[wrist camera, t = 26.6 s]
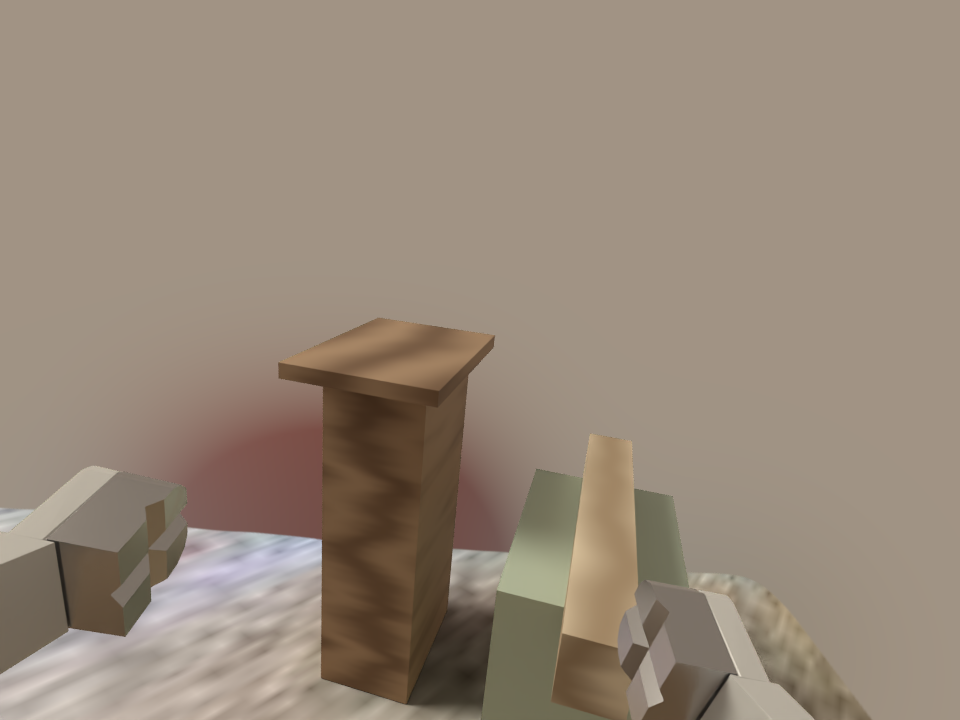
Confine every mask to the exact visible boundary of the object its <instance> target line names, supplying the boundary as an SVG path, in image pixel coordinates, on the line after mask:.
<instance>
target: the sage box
mask: <svg viewBox="0 0 960 720" xmlns="http://www.w3.org/2000/svg"><path fill="white" fill-rule="evenodd" d="M582 480H583V478H579V477H575V476H570V475H565V474H559V473H555V472H550V471H545V470H540V469H536V472H535V475H534V478H533V481H532V484H531V487H530V491H529V493H528V496H527V499H526V503H525V506H524V509H523V512H522V515H521V518H520V521H519V524H518V527H517V530H516V533H515V536H514V539H513V542H512V545H511V548H510V551H509V555H508V558H507V561H506V564H505V567H504V570H503V573H502V576H501V579H500V582H499V585H498V588H497V593H496V601H495V609H494V618H493V626H492V634H491V642H490V651H489V659H488V667H487V675H486V683H485V692H484V700H483V708H482V716H481V720H611V719H607V718H604V717H600V716H597V715H593V714H590V713H587V712H583V711H580V710H576V709H573V708H570V707H566V706H563V705H559V704H556V703H553V702H551V696H552V689H553V682H554V675H555V668H556V661H557V654H558V647H559V640H560V633H561V626H562V619H563V612H564V605H565V598H566V591H567V584H568V578H569V571H570V564H571V557H572V550H573V543H574V536H575V529H576V522H577V515H578V508H579V501H580V494H581V487H582ZM634 502H635V525H636V547H637V570H638V586H639V584H640V583H641V582H642V581H644V580H650V581H655V582H661V583H666V584H671V585H676V586H681V587H686V588H689V584H688V579H687V573H686V568H685V562H684V557H683V551H682V545H681V540H680V534H679V529H678V523H677V518H676V512H675V507H674V501H673V496H669V495H663V494H659V493H654V492H649V491H643V490H639V489H634ZM627 720H632V719H631V714H630V709H629V711H628V715H627Z"/></svg>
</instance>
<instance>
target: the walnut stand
mask: <svg viewBox="0 0 960 720" xmlns="http://www.w3.org/2000/svg"><path fill="white" fill-rule="evenodd" d="M494 338H495V336H494V335H489V334H482V333H475V332H469V331H462V330H456V329H449V328H443V327H436V326H429V325H422V324H416V323H409V322H403V321H396V320H390V319H383V318H377V319H375V320H372V321H370V322H368V323H366V324H363V325H361V326H359V327H357V328H354V329H352V330H350V331H348V332H345V333H343V334H341V335H339V336H336V337H334V338H332V339H330V340H328V341H325V342H323V343H321V344H319V345H316V346H314V347H312V348H310V349H307V350H305V351H303V352H301V353H299V354H296V355H294V356H292V357H289V358H287V359H285V360H283V361H280V362H279V363H278V366H279V378H280V379H285V380H291V381H296V382H301V383H307V384H312V385H318V386H323V479H322V485H323V486H322V490H323V491H322V629H321V678H323V679H326V680H330V681H333V682H336V683H339V684H342V685H346V686H349V687H352V688H355V689H358V690H362V691H365V692H368V693H371V694H374V695H378V696H381V697H384V698H387V699H391V700H394V701H397V702H400V703H403V704H407V702H408V699H409V697H410V695H411V692H412V690H413V688H414V685H415V683H416V681H417V679H418V676H419V674H420V672H421V669H422V667H423V665H424V662H425V660H426V658H427V656H428V653H429V651H430V649H431V646H432V644H433V642H434V639H435V637H436V635H437V633H438V630H439V628H440V626H441V623H442V621H443V619H444V616H445V614H446V612H447V606H448V595H449V584H450V572H451V561H452V550H453V538H454V528H455V517H456V506H457V493H458V484H459V472H460V461H461V449H462V438H463V428H464V417H465V405H466V394H467V383H468V374H469V373H470V372H471V371H472V370H473V369H474V368H475V367H476V366H477V365H478V364H479V363H480V362H481V360H482V359H483V358H484V357H485V356H486V355H487V354H488V353H489V352H490V351H491V350H492V349H493V347H494Z"/></svg>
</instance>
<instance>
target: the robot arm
mask: <svg viewBox="0 0 960 720" xmlns="http://www.w3.org/2000/svg"><path fill="white" fill-rule="evenodd" d="M186 495H187V494H186V488H185V487H183V486H182V485H179V484H175V483H170V482H166V481H161V480H157V479H153V478H149V477H144V476H140V475H136V474H131V473H127V472H120V471H115V470H111V469H107V468H102V467H98V466H91V467H88V468H85V469H83V470H81V471H80V472H79V473H78V474H76V475H75V476H74V477H73V478H72V479H71V480H69V481H68V482H67V483H66V484H65V485H64V486H62V487H61V488H60V489H59V490H58V491H57V492H55V493H54V494H53V495H52V496H51V497H50V498H48V499H47V500H46V501H45V502H44V503H43V504H41V505H40V506H39V507H38V508H37V509H35V510H34V511H33V512H32V513H31V514H30V515H28V516H27V517H26V518H25V519H24V520H23V521H21V522H20V523H19V524H18V525H17V526H15V527H14V528H13V529H12V530H11V531H10V532H8V533H6V532H0V674H1V673H3V672H4V671H6V670H8V669H9V668H11V667H12V666H14V665H16V664H17V663H19V662H20V661H22V660H24V659H25V658H27V657H28V656H30V655H32V654H33V653H35V652H36V651H38V650H39V649H41V648H43V647H44V646H46V645H47V644H49V643H51V642H52V641H54V640H55V639H57V638H59V637H60V636H62V635H63V634H65V633H66V632H68V628H72V629H79V630H85V631H91V632H98V633H104V634H111V635H117V636H123V637H126V635H127V634H128V632H129V631H130V630H131V628H132V627H133V625H134V624H135V623H136V621H137V620H138V619H139V617H140V616H141V614H142V613H143V612H144V610H145V609H146V607H147V606H148V605H149V603H150V602H151V587H152V586H154V585H156V584H158V583H160V582H162V581H164V580H165V579H167V578H168V577H169V575H170V574H171V572H172V571H173V569H174V568H175V567H176V565H177V563H178V561H179V559H180V556H181V554H182V552H183V550H184V547H185V543H186V538H187V522H186V521H185V519H184V518H183V517H182V515H181V514H180V512H181V510H182V509H183V508H184V507H185V505H186V504H187V496H186ZM634 595H635V599H636V603H637V605H635V606H634V607H632V608H630V609H628V610H626V611H625V614H624V616H623V618H622V620H621V623H620V626H619V633H618V639H617V641H618V655H619V661H620V666H621V668H622V669H623V670H624V672H625V673H626V674H627V675H628V677H629V678H630V679H631V680H632V681H631V683H630V685H629V687H628V689H627V691H626V695H627V700H628V705H629V709H630V714H631V719H632V720H815V719H814V718H813V717H812V716H811V715H810V714H809V713H808V712H807V711H806V710H805V709H804V708H803V707H802V706H801V705H800V704H799V703H798V702H797V701H796V700H794V699H793V698H792V697H791V696H790V695H789V694H788V693H787V692H786V691H785V690H784V689H783V688H782V687H781V686H780V685H779V684H776V683H771V682H770V681H769V678H768V676H767V674H766V672H765V670H764V668H763V666H762V663H761V661H760V659H759V657H758V655H757V653H756V650H755V648H754V646H753V644H752V642H751V640H750V638H749V635H748V633H747V631H746V629H745V627H744V625H743V623H742V620H741V618H740V616H739V614H738V612H737V610H736V608H735V605H734V603H733V601H732V600H731V599H730V598H729V597H728V596H727V595H723V594H718V593H713V592H708V591H702V590H696V589H691V588H686V587H681V586H676V585H671V584H666V583H661V582H655V581H650V580H644V581H642V582H641V583H640V584H639V586H638V588H637V589H636V591H635V593H634Z"/></svg>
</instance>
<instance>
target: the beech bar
mask: <svg viewBox="0 0 960 720" xmlns="http://www.w3.org/2000/svg"><path fill="white" fill-rule="evenodd" d="M637 588H638V570H637V547H636V525H635V502H634V481H633V458H632V442H631V441H628V440H622V439H617V438H612V437H607V436H601V435H596V434H590V438H589V443H588V450H587V455H586V462H585V467H584V474H583V480H582V487H581V494H580V501H579V508H578V515H577V522H576V529H575V536H574V543H573V550H572V557H571V564H570V571H569V578H568V584H567V591H566V598H565V605H564V612H563V619H562V626H561V633H560V640H559V647H558V654H557V661H556V668H555V675H554V682H553V689H552V696H551V702H553V703H556V704H559V705H563V706H566V707H570V708H573V709H576V710H580V711H583V712H587V713H590V714H593V715H597V716H600V717H604V718H607V719H611V720H627V715H628V711H629V705H628V700H627V695H626V691H627V689H628V687H629V685H630V683H631V681H632V680H631V679H630V678H629V677H628V675H627V674H626V673H625V672H624V670H623V669H622V668H621V666H620V661H619V655H618V641H617V639H618V633H619V626H620V623H621V620H622V618H623V616H624V614H625V611H626V610H628V609H630V608H632V607H634V606H635V605H637V603H636V599H635V595H634V593H635V591H636V589H637Z"/></svg>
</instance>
